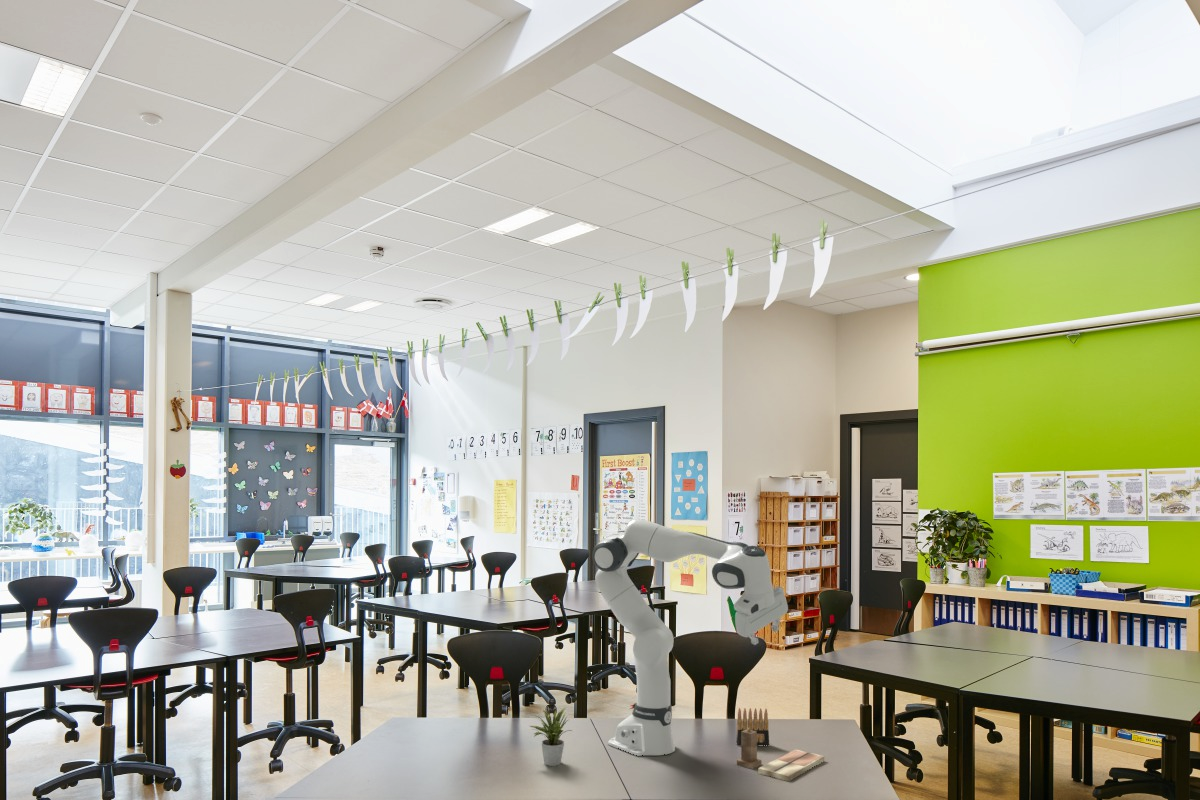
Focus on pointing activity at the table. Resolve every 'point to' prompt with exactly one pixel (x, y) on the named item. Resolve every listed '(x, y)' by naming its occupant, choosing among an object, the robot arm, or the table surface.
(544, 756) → the house plant
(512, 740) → the table surface
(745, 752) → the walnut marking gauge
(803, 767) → the maple board
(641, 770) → the table surface
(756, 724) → the ammunition clip
